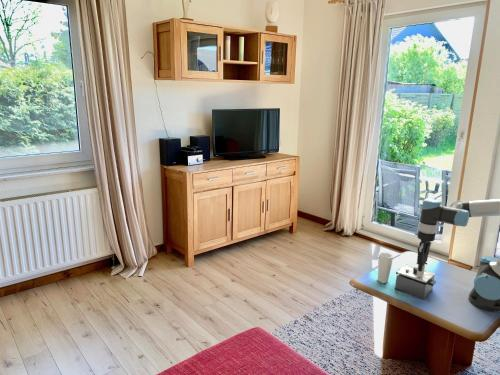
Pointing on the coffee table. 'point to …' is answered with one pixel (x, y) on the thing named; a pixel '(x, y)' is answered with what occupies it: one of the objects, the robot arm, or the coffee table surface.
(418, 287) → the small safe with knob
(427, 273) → the lid
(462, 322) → the coffee table surface
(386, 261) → the white hollow cylinder
